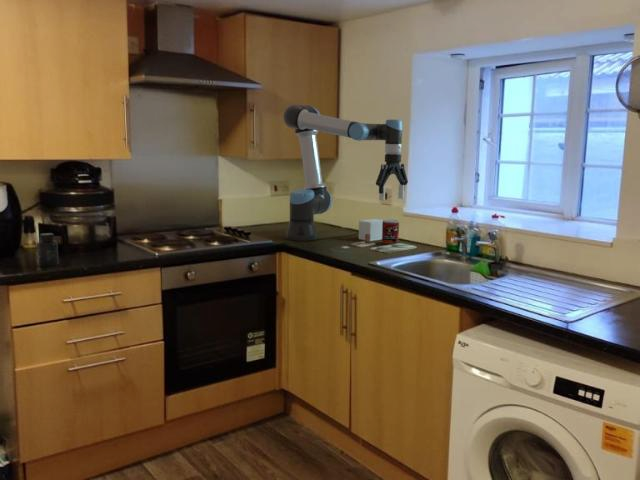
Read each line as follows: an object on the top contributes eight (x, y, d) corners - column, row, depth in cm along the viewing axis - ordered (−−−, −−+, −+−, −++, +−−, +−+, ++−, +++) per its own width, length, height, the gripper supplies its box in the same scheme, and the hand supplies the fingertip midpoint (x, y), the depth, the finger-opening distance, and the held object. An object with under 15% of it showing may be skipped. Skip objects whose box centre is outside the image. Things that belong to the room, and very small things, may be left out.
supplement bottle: (36, 264, 231) (34, 233, 229) (56, 262, 235) (54, 232, 233) (41, 268, 225) (39, 236, 223) (60, 266, 229) (58, 234, 227)
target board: (370, 249, 272) (370, 247, 271) (399, 244, 285) (399, 242, 285) (387, 253, 264) (387, 250, 264) (416, 248, 278) (416, 245, 278)
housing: (358, 238, 299) (359, 220, 297) (374, 236, 307) (375, 218, 305) (370, 241, 293) (370, 222, 292) (385, 238, 301) (386, 220, 300)
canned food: (380, 244, 285) (381, 221, 283) (383, 241, 293) (383, 219, 291) (397, 245, 283) (398, 222, 281) (399, 242, 291) (399, 219, 289)
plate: (351, 245, 282) (351, 235, 281) (365, 242, 288) (366, 232, 288) (360, 247, 277) (360, 236, 277) (375, 244, 284) (375, 234, 283)
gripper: (381, 154, 270) (379, 202, 273) (416, 153, 287) (414, 198, 290) (368, 153, 275) (367, 200, 279) (404, 153, 292) (402, 197, 296)
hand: (391, 199), depth 285 cm, fingers open, 13 cm apart
